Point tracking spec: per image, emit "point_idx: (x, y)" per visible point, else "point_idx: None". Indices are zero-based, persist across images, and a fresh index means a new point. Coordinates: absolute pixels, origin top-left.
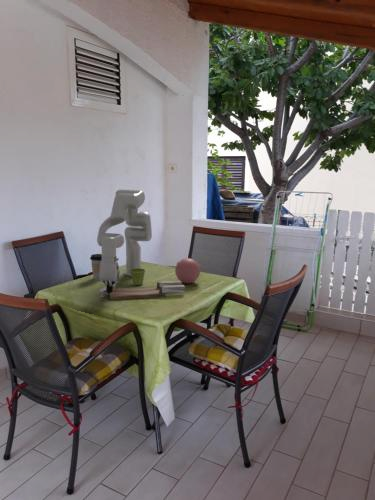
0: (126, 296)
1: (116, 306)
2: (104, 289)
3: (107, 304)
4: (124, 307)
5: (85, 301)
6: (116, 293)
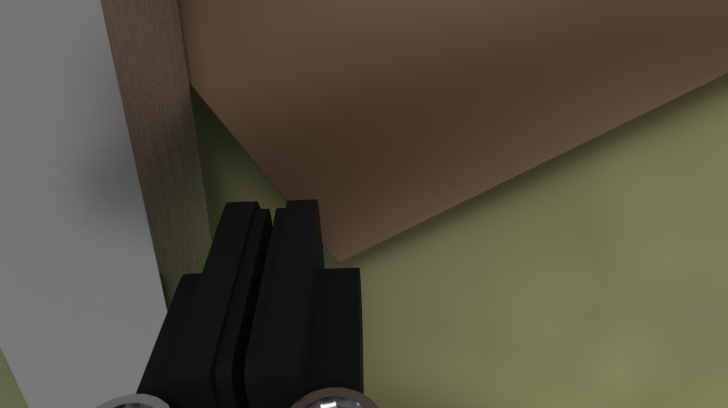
0: (717, 61)
1: (571, 390)
2: (114, 344)
3: (402, 374)
4: (705, 385)
5: (5, 383)
6: (378, 6)
